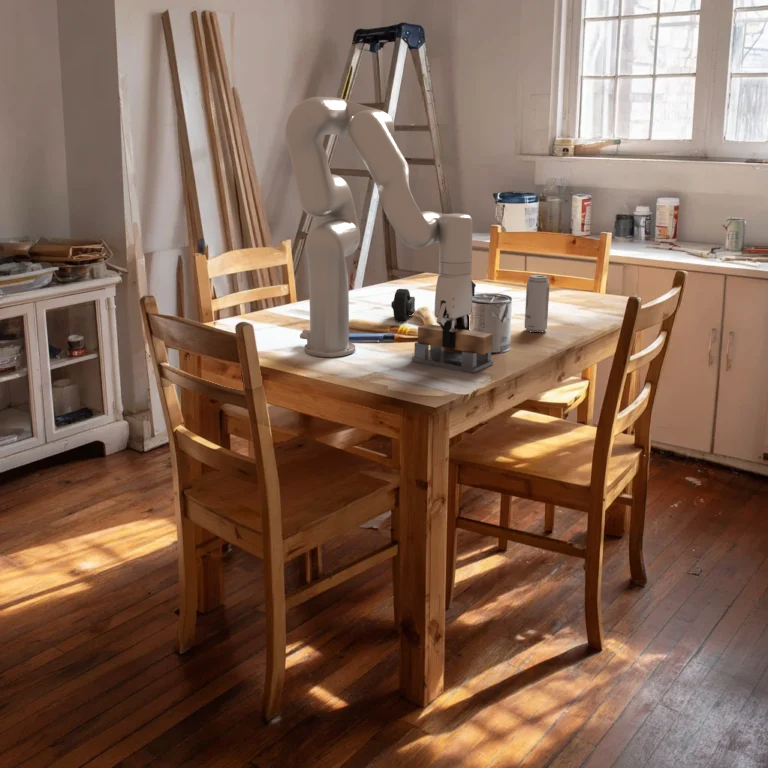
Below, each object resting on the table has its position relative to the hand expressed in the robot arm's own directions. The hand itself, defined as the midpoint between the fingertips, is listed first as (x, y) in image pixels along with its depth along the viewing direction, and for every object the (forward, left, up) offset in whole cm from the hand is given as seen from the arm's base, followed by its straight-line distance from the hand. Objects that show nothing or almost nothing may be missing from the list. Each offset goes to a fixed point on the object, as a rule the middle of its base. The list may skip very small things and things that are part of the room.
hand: (454, 344), depth 212 cm
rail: (0, 0, 0) cm, 1 cm away
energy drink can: (+2, +40, -5) cm, 40 cm away
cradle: (0, 0, -4) cm, 4 cm away
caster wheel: (-35, +31, -5) cm, 47 cm away
